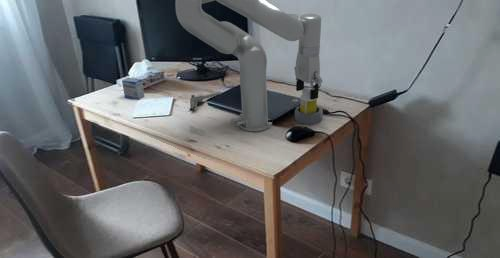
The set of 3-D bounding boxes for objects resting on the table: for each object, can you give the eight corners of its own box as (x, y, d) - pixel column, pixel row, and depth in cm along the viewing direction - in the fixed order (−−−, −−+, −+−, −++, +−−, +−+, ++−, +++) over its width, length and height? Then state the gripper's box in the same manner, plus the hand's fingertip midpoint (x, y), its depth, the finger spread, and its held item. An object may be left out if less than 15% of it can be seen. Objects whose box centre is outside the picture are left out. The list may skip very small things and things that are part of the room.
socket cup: (304, 126, 157) (304, 117, 155) (290, 116, 165) (290, 107, 164) (327, 120, 161) (327, 111, 159) (312, 110, 169) (312, 102, 167)
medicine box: (124, 98, 192) (121, 80, 188) (130, 94, 195) (127, 77, 192) (139, 100, 189) (135, 82, 185) (144, 96, 193) (141, 78, 189)
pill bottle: (318, 114, 164) (319, 87, 159) (313, 120, 159) (314, 93, 154) (303, 112, 166) (303, 86, 162) (298, 118, 162) (298, 91, 157)
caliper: (192, 110, 177) (191, 96, 174) (190, 109, 177) (189, 95, 174) (222, 93, 191) (221, 80, 188) (220, 93, 192) (219, 80, 189)
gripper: (287, 45, 156) (286, 88, 164) (313, 57, 142) (310, 104, 150) (305, 42, 159) (303, 85, 167) (331, 54, 145) (328, 100, 153)
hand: (306, 94), depth 158 cm, fingers open, 9 cm apart
